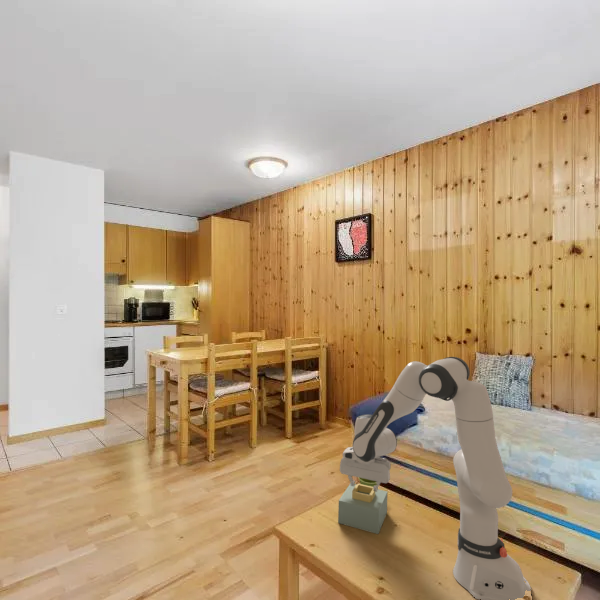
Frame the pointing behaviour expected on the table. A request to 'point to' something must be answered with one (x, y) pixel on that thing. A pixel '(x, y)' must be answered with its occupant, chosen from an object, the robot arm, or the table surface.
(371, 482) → the plant pot
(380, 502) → the box with square opening
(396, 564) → the table surface
